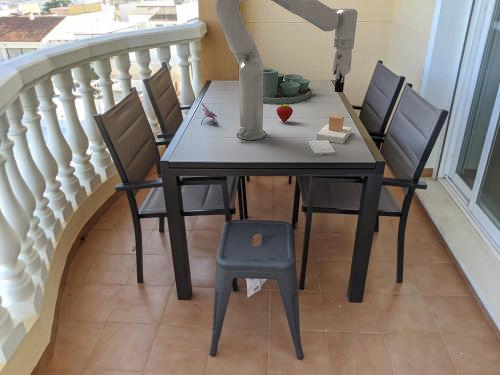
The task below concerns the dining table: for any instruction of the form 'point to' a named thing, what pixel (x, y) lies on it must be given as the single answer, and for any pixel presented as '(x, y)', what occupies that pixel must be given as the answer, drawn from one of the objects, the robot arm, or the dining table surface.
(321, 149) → the external hard drive
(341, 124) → the plug
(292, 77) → the tea set
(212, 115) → the lily
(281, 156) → the dining table surface
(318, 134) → the socket
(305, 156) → the dining table surface
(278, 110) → the strawberry
